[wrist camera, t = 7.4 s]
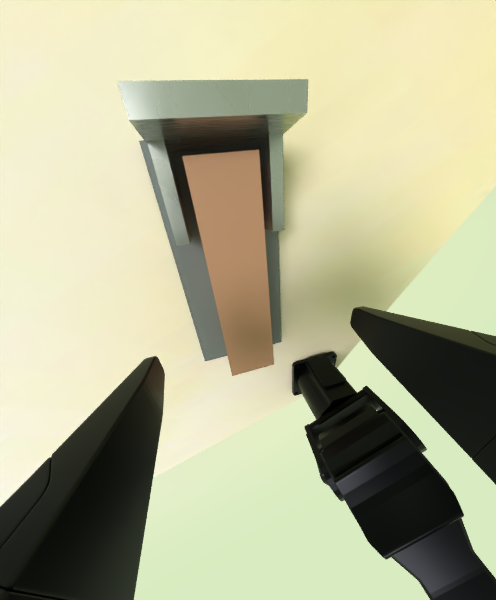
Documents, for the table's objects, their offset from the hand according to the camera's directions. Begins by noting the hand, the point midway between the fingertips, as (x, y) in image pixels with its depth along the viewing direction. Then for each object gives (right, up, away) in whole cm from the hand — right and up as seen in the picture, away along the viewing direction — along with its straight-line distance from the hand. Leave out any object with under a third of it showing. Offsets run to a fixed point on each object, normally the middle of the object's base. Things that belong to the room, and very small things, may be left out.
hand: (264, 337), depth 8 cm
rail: (-2, +4, +8) cm, 10 cm away
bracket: (-3, +10, +6) cm, 12 cm away
